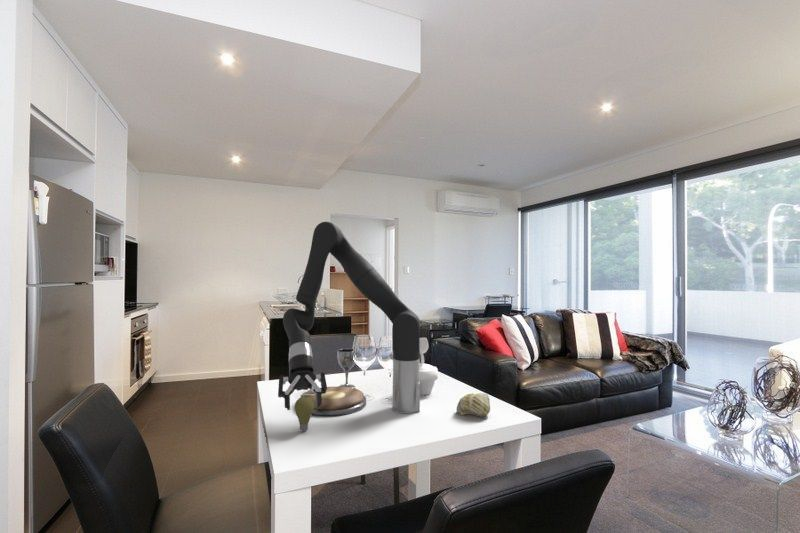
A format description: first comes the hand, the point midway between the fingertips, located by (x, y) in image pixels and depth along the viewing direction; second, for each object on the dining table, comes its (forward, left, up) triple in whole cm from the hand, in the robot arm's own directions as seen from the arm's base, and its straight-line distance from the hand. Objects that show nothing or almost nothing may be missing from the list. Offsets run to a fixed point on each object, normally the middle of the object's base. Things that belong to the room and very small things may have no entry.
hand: (303, 407), depth 112 cm
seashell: (-53, -15, -7) cm, 55 cm away
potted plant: (-37, -38, -7) cm, 54 cm away
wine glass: (-6, -45, -7) cm, 46 cm away
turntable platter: (-4, -23, -5) cm, 24 cm away
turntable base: (-4, -23, -7) cm, 25 cm away
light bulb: (0, +1, -7) cm, 7 cm away
